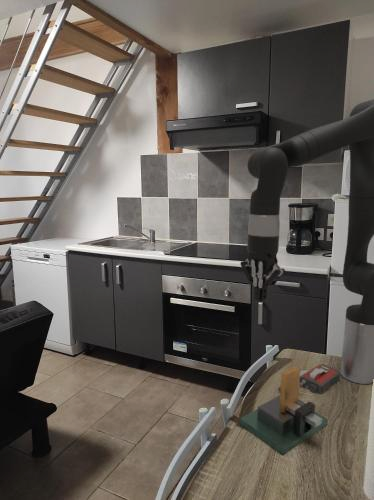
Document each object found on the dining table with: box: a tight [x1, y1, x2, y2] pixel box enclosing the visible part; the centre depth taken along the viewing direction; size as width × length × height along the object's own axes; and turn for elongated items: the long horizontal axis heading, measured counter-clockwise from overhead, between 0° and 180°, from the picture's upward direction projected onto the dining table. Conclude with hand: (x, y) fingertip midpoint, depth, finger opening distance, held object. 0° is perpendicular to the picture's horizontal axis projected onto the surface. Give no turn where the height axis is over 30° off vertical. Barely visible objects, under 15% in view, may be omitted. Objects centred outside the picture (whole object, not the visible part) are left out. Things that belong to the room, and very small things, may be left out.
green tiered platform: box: [239, 395, 328, 455], centre depth 83 cm, size 16×12×7 cm
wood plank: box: [279, 366, 322, 428], centre depth 79 cm, size 5×8×9 cm, turn 38°
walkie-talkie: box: [278, 363, 341, 395], centre depth 100 cm, size 9×4×20 cm
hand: (260, 301), depth 92 cm, fingers closed
